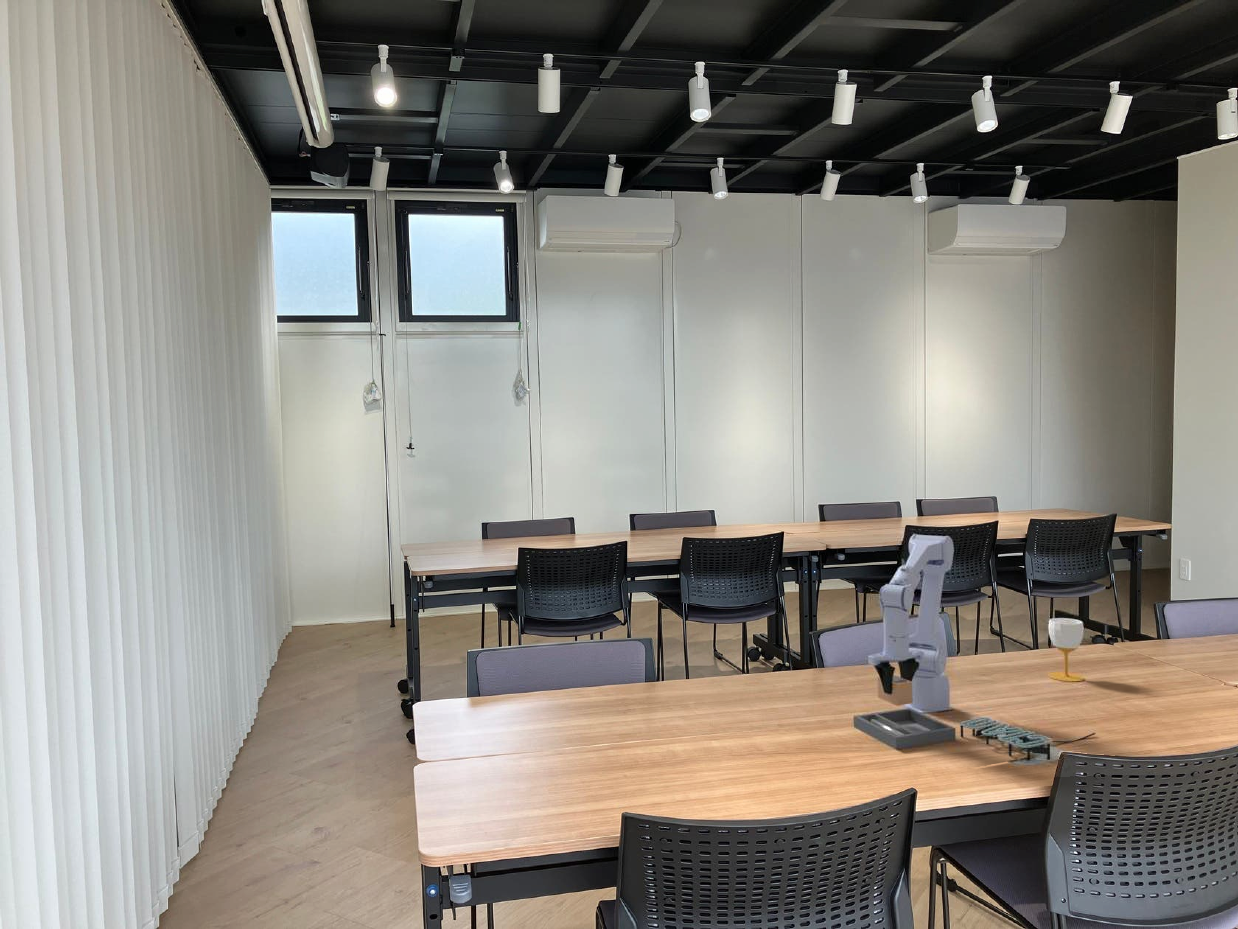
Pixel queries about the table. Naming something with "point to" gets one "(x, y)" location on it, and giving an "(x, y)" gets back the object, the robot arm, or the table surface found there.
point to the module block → (897, 691)
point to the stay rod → (886, 727)
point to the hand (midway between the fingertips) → (896, 692)
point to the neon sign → (1017, 741)
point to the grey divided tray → (905, 728)
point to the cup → (1066, 643)
